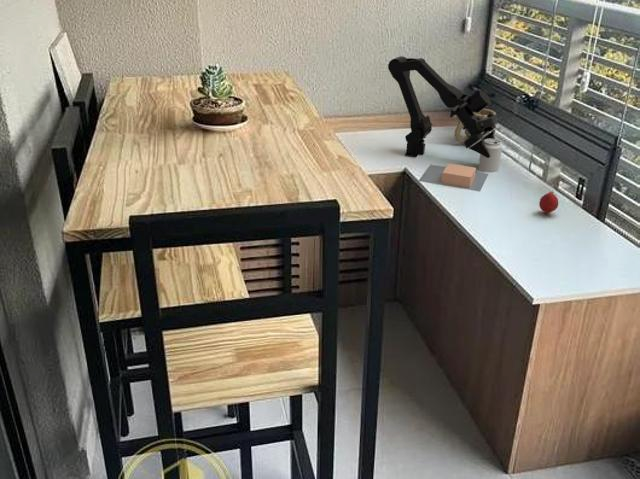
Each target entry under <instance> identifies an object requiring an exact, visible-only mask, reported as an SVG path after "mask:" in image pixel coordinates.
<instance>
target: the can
mask: <svg viewBox="0 0 640 479" xmlns="http://www.w3.org/2000/svg"><path fill="white" fill-rule="evenodd" d="M484 145H485V147H486V149H487V151H488V153H489V155H490V157H489V158H487V157H485V156H483V155H481V154H480V153H479V160H478V161H479V162H478V170H479V171H483V172H484V173H496V172H498V171H499V168H500V163H501V158H502V152H503V144H502V141H501V140H499V139H498V138H495V139H485V140H484Z"/></svg>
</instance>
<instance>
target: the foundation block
mask: <svg viewBox="0 0 640 479" xmlns="http://www.w3.org/2000/svg"><path fill="white" fill-rule="evenodd" d="M445 167H446V168H445V170H444V171H443V173H442V181H441V183H444V184H449V185H455V186H461V187H467V188H470V186H471V184H472V182H473V180H474V178H475V172H477V167H474V166H468V165H467V166H466V165H462V164H454V163H448V164H447V166H445Z"/></svg>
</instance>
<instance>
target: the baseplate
mask: <svg viewBox="0 0 640 479" xmlns="http://www.w3.org/2000/svg"><path fill="white" fill-rule="evenodd" d="M446 167H447V166H442V165H437V164H429V165H428V167H427V168H426V170H425V171H424V172H423V173H422V175H421V177H420V178H419V179H418V182H422V183H423V182H424V183H429V184H435V185H439V186H440V185H441V186H445V187H452V188H458V189H464V190H470V191H475V192H481V190H482V189H483V186H484V184H485V182H486V181H487V179H488V176H489V173H487V172H480V171H476V172H475V178H474V180H473V182H472V184H471V186H470V188H467V187H461V186H455V185H449V184H444V183H441V181H442V173H443V171H444V170H445V168H446Z"/></svg>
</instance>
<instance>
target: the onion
mask: <svg viewBox="0 0 640 479" xmlns="http://www.w3.org/2000/svg"><path fill="white" fill-rule="evenodd" d="M554 193H555V192H554V190H551V191H549V192H548V193H545V194H544V195H542V196H541V197H540V199H539V203H538V206H539V208H540V209H541V211H542V212H544V213H545V214H546V213H547V215H548V213H549V214H550V213H553V212H555V211H556V210H557V209H558V207H559V199H558V197H557V196H556V194H554Z"/></svg>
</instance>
